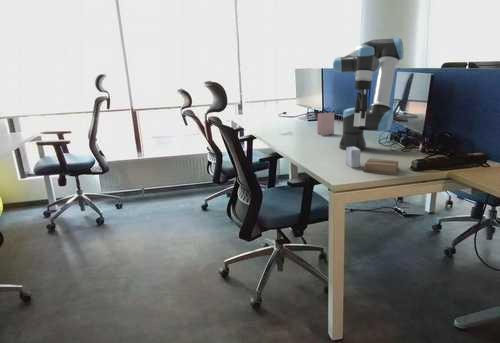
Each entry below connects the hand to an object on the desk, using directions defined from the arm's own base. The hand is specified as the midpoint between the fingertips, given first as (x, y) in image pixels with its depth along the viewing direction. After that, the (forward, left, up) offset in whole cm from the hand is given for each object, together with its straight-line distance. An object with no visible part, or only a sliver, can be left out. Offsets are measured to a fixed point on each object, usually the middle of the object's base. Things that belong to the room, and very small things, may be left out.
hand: (358, 126), depth 178 cm
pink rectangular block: (-71, -38, -19) cm, 83 cm away
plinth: (+8, +13, -19) cm, 24 cm away
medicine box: (+4, -1, -19) cm, 19 cm away
